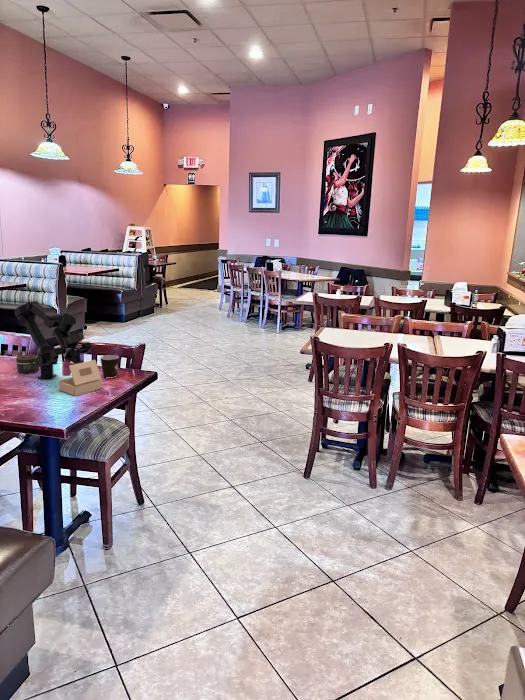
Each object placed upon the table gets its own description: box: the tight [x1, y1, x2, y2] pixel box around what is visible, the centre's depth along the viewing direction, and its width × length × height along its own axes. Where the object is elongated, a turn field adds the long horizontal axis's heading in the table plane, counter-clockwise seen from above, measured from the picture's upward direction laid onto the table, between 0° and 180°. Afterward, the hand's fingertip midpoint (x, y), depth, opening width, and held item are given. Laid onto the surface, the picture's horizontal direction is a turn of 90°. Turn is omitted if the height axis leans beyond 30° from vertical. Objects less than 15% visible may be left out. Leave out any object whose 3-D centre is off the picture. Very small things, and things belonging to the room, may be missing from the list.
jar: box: [15, 354, 40, 375], centre depth 248 cm, size 10×10×8 cm
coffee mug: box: [100, 354, 120, 378], centre depth 246 cm, size 12×9×10 cm
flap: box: [68, 359, 102, 385], centre depth 222 cm, size 1×13×9 cm, turn 144°
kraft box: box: [58, 377, 104, 397], centre depth 226 cm, size 12×15×4 cm
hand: (80, 365), depth 223 cm, fingers closed
